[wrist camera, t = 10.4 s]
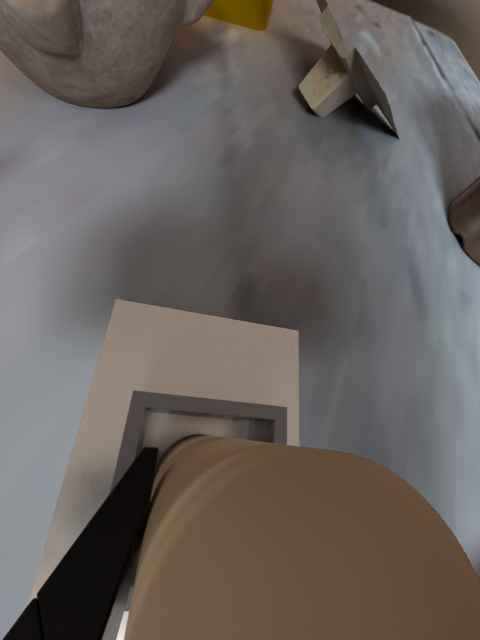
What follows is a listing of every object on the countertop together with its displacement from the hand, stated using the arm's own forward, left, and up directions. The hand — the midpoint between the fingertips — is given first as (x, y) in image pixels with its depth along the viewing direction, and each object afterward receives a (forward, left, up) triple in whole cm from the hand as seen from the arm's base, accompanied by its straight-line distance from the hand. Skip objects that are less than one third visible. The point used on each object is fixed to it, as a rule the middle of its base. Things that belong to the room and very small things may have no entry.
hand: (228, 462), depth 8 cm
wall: (+37, +15, -9) cm, 41 cm away
